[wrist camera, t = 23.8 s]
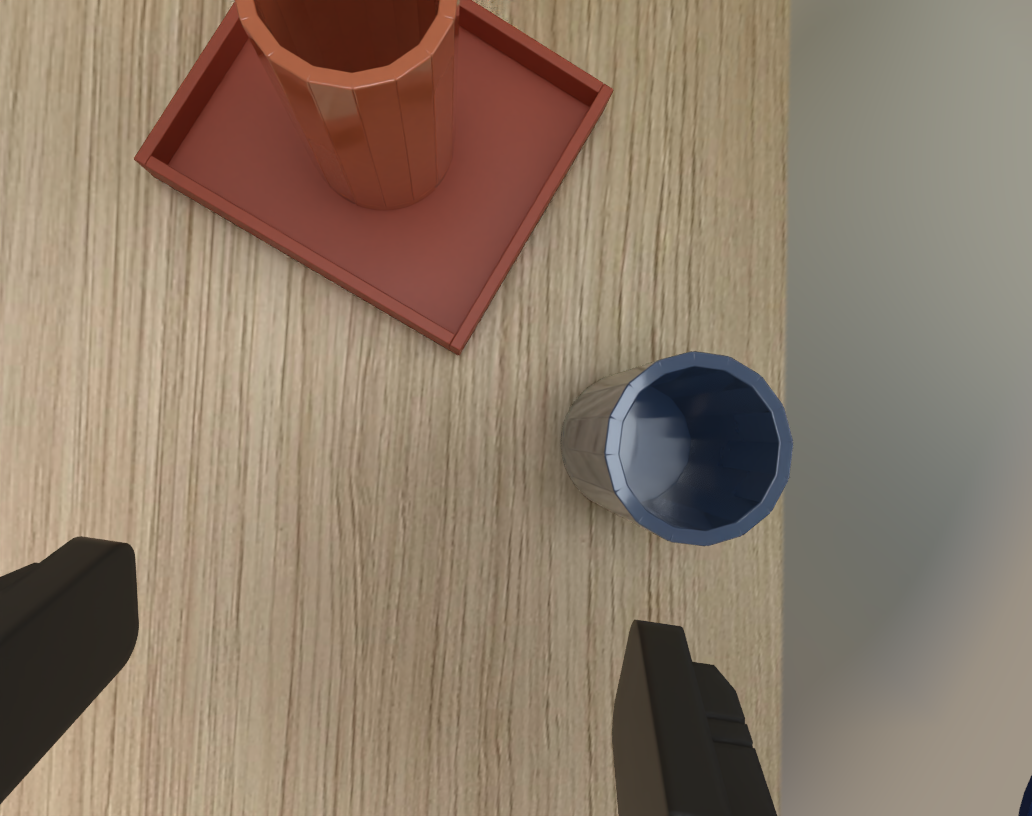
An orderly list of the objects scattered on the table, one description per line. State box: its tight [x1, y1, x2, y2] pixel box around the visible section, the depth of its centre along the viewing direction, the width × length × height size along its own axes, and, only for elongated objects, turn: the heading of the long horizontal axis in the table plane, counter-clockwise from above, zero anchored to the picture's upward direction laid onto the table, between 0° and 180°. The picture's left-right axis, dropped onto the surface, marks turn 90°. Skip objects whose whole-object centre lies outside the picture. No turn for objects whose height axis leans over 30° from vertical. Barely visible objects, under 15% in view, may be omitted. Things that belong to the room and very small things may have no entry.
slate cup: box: [561, 351, 793, 546], centre depth 27 cm, size 6×6×9 cm
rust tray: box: [134, 0, 613, 355], centre depth 30 cm, size 15×13×2 cm
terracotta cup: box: [235, 0, 460, 210], centre depth 25 cm, size 6×6×11 cm
